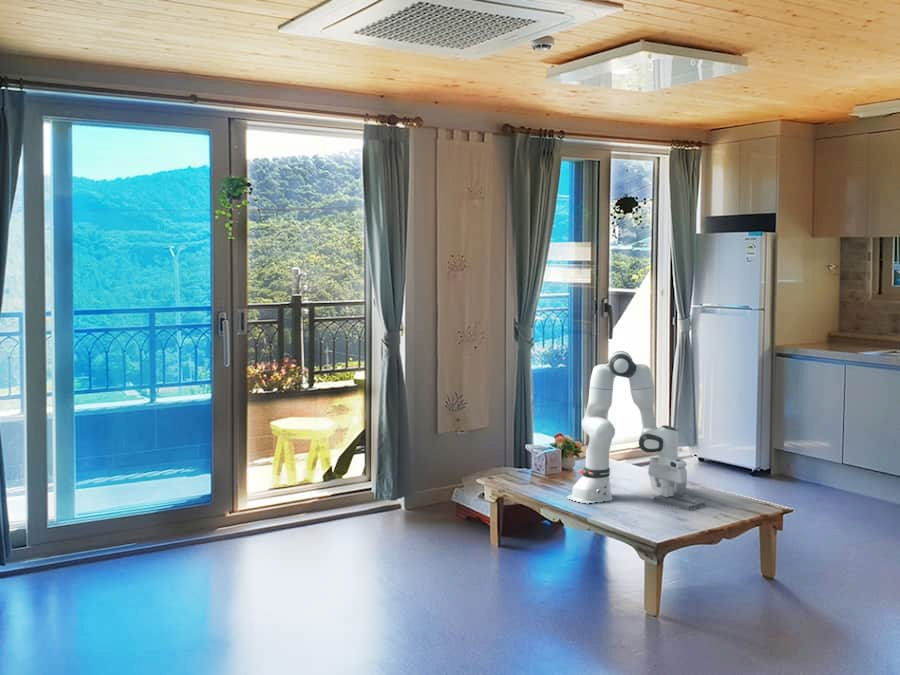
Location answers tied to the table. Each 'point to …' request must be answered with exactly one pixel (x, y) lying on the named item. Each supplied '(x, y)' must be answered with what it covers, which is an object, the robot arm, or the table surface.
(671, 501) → the fader deck
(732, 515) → the table surface
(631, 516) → the table surface
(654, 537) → the table surface
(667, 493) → the fader knob
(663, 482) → the alarm clock
